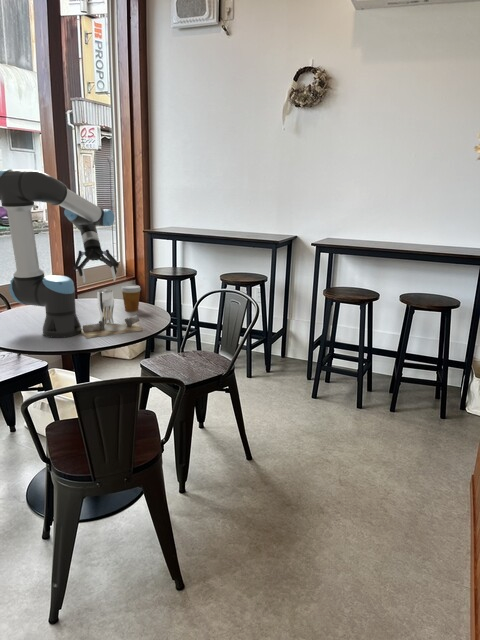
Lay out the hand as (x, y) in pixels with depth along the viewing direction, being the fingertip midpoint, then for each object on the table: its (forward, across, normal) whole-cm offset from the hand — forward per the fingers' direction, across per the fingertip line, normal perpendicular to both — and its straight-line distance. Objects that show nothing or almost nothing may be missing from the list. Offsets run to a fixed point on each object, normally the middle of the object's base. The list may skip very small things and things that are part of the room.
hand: (100, 280), depth 219 cm
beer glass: (+21, 0, -5) cm, 21 cm away
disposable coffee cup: (+7, -16, -18) cm, 25 cm away
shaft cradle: (+28, +1, +3) cm, 28 cm away
